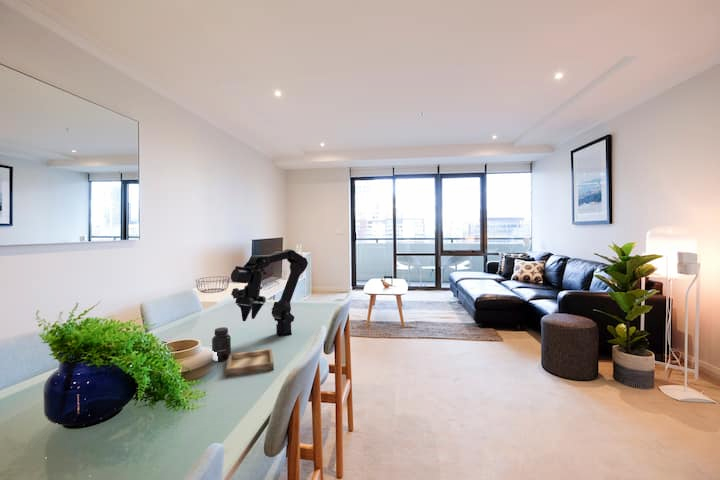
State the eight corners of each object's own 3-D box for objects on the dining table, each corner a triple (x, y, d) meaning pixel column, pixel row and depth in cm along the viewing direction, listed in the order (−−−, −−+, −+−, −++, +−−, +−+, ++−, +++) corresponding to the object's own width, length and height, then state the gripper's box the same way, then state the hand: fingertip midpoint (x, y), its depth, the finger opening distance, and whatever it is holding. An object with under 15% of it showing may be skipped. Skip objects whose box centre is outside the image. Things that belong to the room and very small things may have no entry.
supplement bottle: (219, 364, 119) (218, 333, 119) (208, 360, 123) (207, 330, 122) (234, 357, 125) (233, 327, 124) (224, 353, 129) (223, 325, 128)
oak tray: (271, 354, 127) (271, 348, 127) (273, 369, 114) (273, 363, 114) (229, 360, 122) (229, 354, 122) (226, 377, 109) (225, 370, 109)
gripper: (245, 282, 147) (240, 315, 145) (226, 281, 129) (219, 320, 127) (268, 284, 146) (263, 318, 144) (252, 284, 128) (246, 323, 126)
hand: (248, 320), depth 135 cm, fingers open, 9 cm apart
